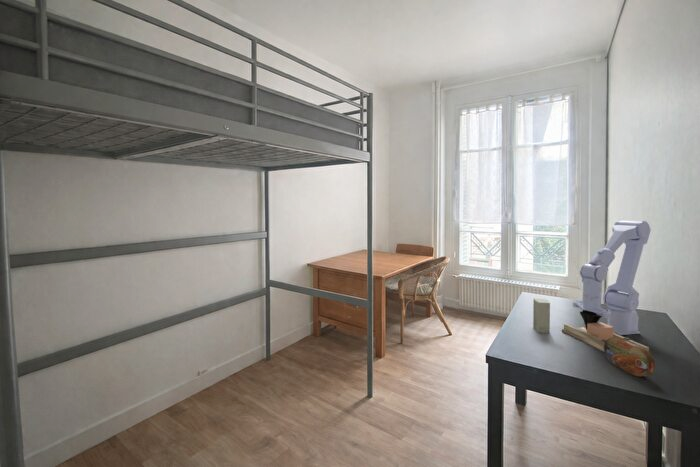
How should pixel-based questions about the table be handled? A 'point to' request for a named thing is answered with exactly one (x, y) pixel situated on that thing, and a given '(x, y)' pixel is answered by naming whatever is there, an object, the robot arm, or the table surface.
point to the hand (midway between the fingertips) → (589, 330)
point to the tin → (629, 357)
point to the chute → (594, 337)
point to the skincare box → (541, 315)
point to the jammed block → (600, 330)
